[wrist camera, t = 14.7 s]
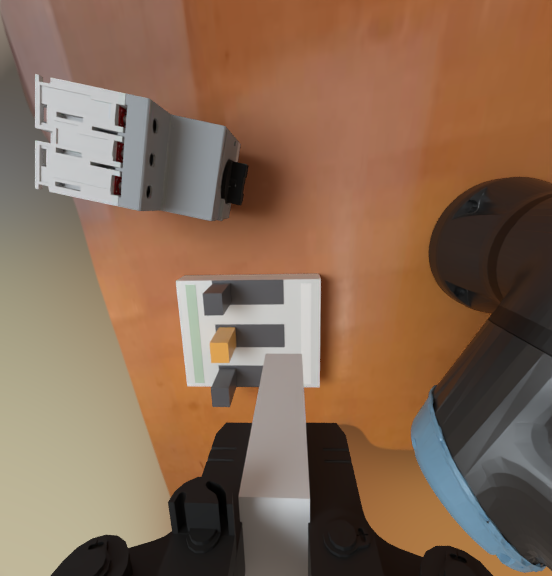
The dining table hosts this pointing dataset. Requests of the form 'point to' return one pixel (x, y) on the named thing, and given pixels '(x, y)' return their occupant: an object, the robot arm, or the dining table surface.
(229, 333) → the block
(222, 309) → the block
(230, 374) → the block
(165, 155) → the circuit breaker
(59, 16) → the dining table surface
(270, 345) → the panel
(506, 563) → the robot arm
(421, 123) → the dining table surface
